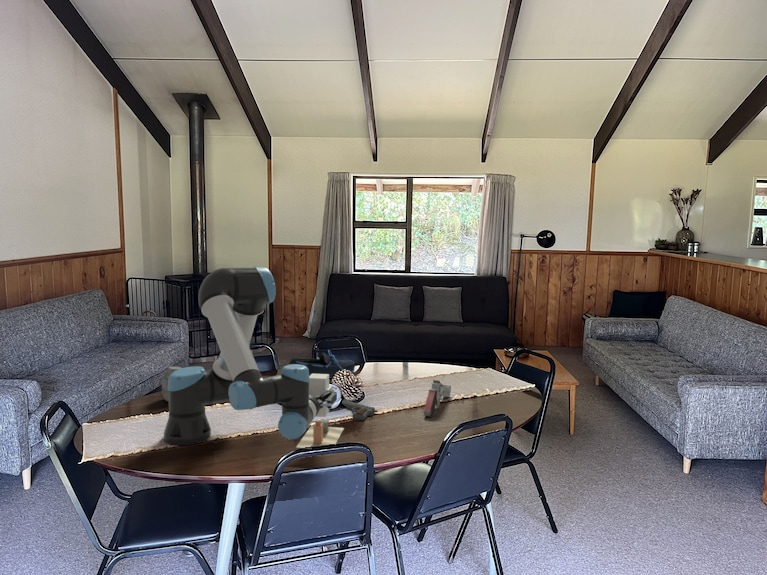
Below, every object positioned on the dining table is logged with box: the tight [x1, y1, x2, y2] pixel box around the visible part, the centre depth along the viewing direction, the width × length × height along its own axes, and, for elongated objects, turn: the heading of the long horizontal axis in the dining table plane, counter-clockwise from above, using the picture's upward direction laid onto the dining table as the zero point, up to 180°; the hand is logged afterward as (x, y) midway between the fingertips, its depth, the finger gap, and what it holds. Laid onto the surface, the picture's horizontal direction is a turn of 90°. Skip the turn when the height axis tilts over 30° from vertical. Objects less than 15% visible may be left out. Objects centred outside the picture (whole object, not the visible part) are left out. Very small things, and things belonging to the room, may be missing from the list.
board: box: [296, 419, 345, 449], centre depth 194 cm, size 20×12×5 cm, turn 173°
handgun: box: [341, 399, 378, 421], centre depth 224 cm, size 3×18×12 cm
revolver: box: [423, 379, 452, 418], centre depth 233 cm, size 4×29×15 cm, turn 159°
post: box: [312, 419, 323, 444], centre depth 189 cm, size 3×3×7 cm
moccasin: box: [288, 349, 356, 379], centre depth 275 cm, size 14×34×12 cm, turn 128°
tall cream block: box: [309, 373, 330, 418], centre depth 188 cm, size 6×6×13 cm
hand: (322, 388), depth 193 cm, fingers closed on tall cream block, 6 cm apart
